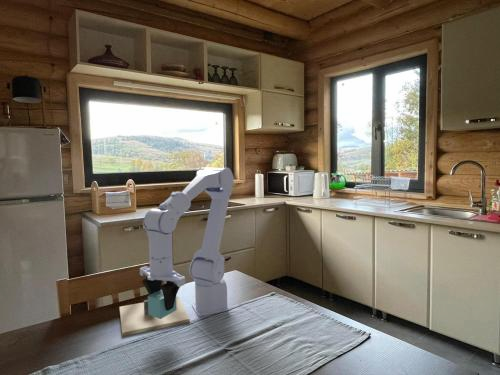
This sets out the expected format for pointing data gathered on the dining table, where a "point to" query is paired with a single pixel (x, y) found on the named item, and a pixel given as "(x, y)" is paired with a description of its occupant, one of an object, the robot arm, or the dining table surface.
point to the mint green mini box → (158, 305)
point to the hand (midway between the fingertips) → (162, 306)
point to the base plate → (149, 318)
